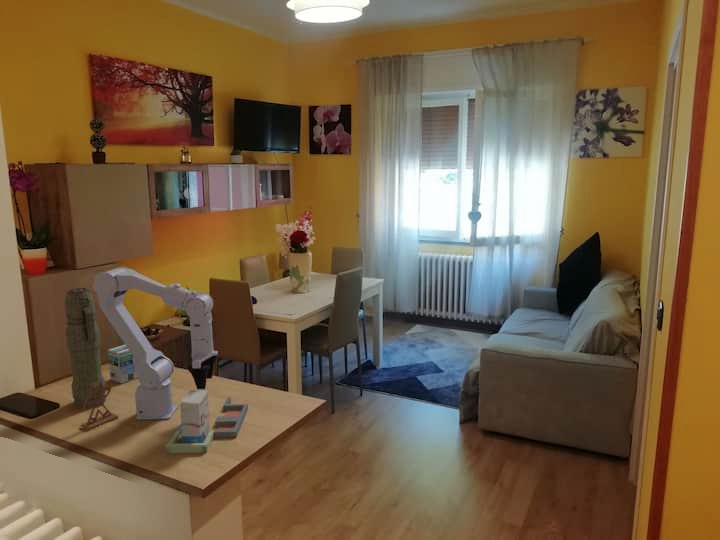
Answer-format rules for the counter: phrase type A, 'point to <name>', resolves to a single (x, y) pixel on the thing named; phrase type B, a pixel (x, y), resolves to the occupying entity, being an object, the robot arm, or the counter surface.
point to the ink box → (195, 416)
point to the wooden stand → (106, 416)
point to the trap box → (226, 428)
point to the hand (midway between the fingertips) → (204, 383)
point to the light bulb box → (121, 364)
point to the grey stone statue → (83, 346)
